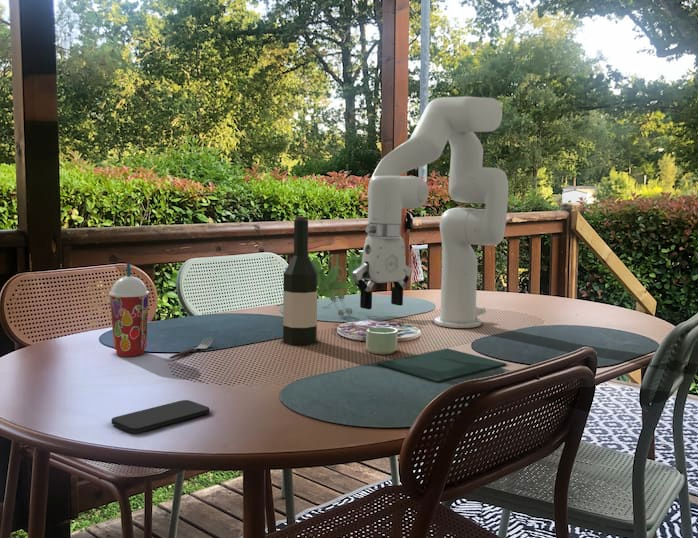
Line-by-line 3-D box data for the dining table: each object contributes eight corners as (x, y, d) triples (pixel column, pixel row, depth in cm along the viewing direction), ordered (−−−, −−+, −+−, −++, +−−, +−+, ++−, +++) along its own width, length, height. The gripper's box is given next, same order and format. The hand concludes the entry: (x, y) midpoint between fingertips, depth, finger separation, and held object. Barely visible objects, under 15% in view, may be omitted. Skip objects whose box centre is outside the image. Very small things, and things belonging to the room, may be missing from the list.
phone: (212, 408, 127) (134, 429, 115) (212, 413, 127) (134, 434, 116) (186, 399, 131) (108, 418, 120) (186, 403, 132) (108, 423, 120)
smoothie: (157, 351, 168) (156, 262, 166) (135, 359, 161) (133, 267, 158) (126, 347, 171) (124, 260, 169) (102, 356, 163) (99, 264, 161)
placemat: (447, 350, 175) (447, 348, 175) (506, 365, 163) (506, 363, 163) (378, 364, 161) (378, 363, 161) (437, 382, 148) (437, 380, 148)
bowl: (382, 346, 178) (382, 325, 177) (403, 351, 173) (404, 330, 172) (359, 350, 173) (359, 329, 172) (380, 356, 168) (381, 334, 167)
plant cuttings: (280, 347, 203) (333, 306, 191) (252, 293, 207) (302, 250, 195) (357, 327, 231) (407, 290, 219) (331, 280, 235) (378, 241, 223)
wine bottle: (323, 340, 183) (325, 216, 179) (306, 347, 175) (308, 218, 171) (293, 336, 186) (294, 215, 182) (276, 342, 179) (276, 216, 175)
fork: (164, 359, 161) (164, 350, 161) (205, 344, 176) (205, 336, 176) (174, 361, 160) (174, 352, 160) (215, 345, 175) (215, 337, 175)
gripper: (366, 233, 160) (364, 312, 163) (422, 231, 172) (419, 305, 174) (344, 231, 166) (341, 307, 168) (399, 229, 177) (397, 301, 180)
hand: (381, 306), depth 171 cm, fingers open, 9 cm apart
